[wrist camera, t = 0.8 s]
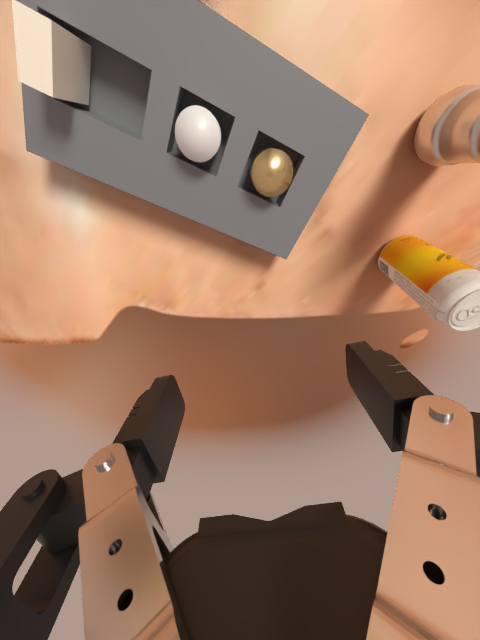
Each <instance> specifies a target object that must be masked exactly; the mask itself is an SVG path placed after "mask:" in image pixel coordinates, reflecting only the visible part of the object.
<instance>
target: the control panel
mask: <svg viewBox="0 0 480 640" xmlns="http://www.w3.org/2000/svg"><path fill="white" fill-rule="evenodd" d="M16 1H18V2H20V3H22V4H23V5H25V6H27V7H29V8H31V9H32V10H34V11H36V12H38V13H40V14H41V15H43V16H45V17H47V18H49V19H50V20H52V21H54V22H55V23H57V24H58V25H60V26H61V27H63V28H64V29H66V30H67V31H69V32H70V33H72V34H74V35H75V36H77V37H78V38H80V39H81V40H83V41H84V42H86V43H87V44H89V45H91V68H90V90H89V105H85V104H80V103H76V102H71V101H67V100H62V99H57V98H53V97H51V96H49V95H47V94H45V93H42V92H40V91H38V90H36V89H34V88H32V87H30V86H28V85H26V84H24V83H22V96H23V109H24V123H25V136H26V149H27V151H29V152H31V153H34V154H36V155H38V156H41V157H43V158H46V159H48V160H50V161H53V162H55V163H57V164H60V165H62V166H65V167H67V168H69V169H72V170H74V171H77V172H79V173H81V174H84V175H86V176H88V177H91V178H93V179H96V180H98V181H100V182H103V183H105V184H108V185H110V186H112V187H115V188H117V189H119V190H122V191H124V192H127V193H129V194H131V195H134V196H136V197H139V198H141V199H143V200H146V201H148V202H150V203H153V204H155V205H158V206H160V207H162V208H165V209H167V210H170V211H172V212H174V213H177V214H179V215H182V216H184V217H186V218H189V219H191V220H193V221H196V222H198V223H201V224H203V225H205V226H208V227H210V228H213V229H215V230H217V231H220V232H222V233H224V234H227V235H229V236H232V237H234V238H236V239H239V240H241V241H244V242H246V243H248V244H251V245H253V246H255V247H258V248H260V249H263V250H265V251H267V252H270V253H272V254H275V255H277V256H279V257H282V258H284V259H287V257H288V256H289V254H290V252H291V250H292V249H293V247H294V245H295V243H296V242H297V240H298V238H299V236H300V235H301V233H302V231H303V229H304V228H305V226H306V224H307V222H308V221H309V219H310V217H311V215H312V214H313V212H314V210H315V208H316V207H317V205H318V203H319V201H320V200H321V198H322V196H323V194H324V193H325V191H326V189H327V187H328V186H329V184H330V182H331V180H332V179H333V177H334V175H335V173H336V172H337V170H338V168H339V166H340V165H341V163H342V161H343V159H344V158H345V156H346V154H347V152H348V151H349V149H350V147H351V145H352V144H353V142H354V140H355V138H356V137H357V135H358V133H359V131H360V130H361V128H362V126H363V124H364V123H365V121H366V119H367V117H368V116H369V114H367V113H366V112H364V111H363V110H361V109H360V108H358V107H357V106H355V105H354V104H352V103H351V102H349V101H348V100H346V99H345V98H343V97H342V96H340V95H339V94H337V93H336V92H334V91H333V90H331V89H330V88H328V87H327V86H325V85H324V84H322V83H321V82H319V81H318V80H316V79H315V78H313V77H312V76H310V75H309V74H307V73H306V72H304V71H303V70H301V69H300V68H298V67H297V66H295V65H294V64H292V63H291V62H289V61H288V60H287V59H285V58H284V57H282V56H281V55H279V54H278V53H276V52H275V51H273V50H272V49H270V48H269V47H267V46H266V45H264V44H263V43H261V42H260V41H258V40H257V39H255V38H254V37H252V36H251V35H249V34H248V33H246V32H245V31H243V30H242V29H240V28H239V27H237V26H236V25H234V24H233V23H231V22H230V21H228V20H227V19H225V18H224V17H222V16H221V15H219V14H218V13H216V12H215V11H213V10H212V9H210V8H209V7H207V6H206V5H204V4H203V3H201V2H200V1H198V0H16ZM194 105H197V106H201V107H204V108H206V109H207V110H209V111H210V112H211V113H212V114H213V116H214V117H215V118H216V120H217V121H218V123H219V126H220V129H221V144H220V147H219V149H218V151H217V153H216V154H215V155H214V156H213V157H212V158H211V159H209V160H208V161H205V162H195V161H192V160H190V159H188V158H187V157H186V156H185V155H184V154H183V153H182V152H181V150H180V149H179V147H178V144H177V142H176V138H175V124H176V120H177V118H178V116H179V114H180V113H181V112H182V111H183V110H184V109H185V108H187V107H189V106H194ZM264 148H275V149H279V150H282V151H283V152H285V153H286V154H287V155H288V156H289V157H290V159H291V161H292V164H293V178H292V181H291V183H290V185H289V187H288V188H287V189H286V190H285V191H284V192H283V193H282V194H280V195H278V196H275V197H267V196H264V195H262V194H261V193H259V192H258V191H257V189H256V188H255V186H254V184H253V182H252V180H251V177H250V165H251V161H252V159H253V157H254V156H255V155H256V154H257V153H258V152H259V151H260V150H262V149H264Z"/></svg>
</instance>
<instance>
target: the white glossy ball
mask: <svg viewBox="0 0 480 640" xmlns="http://www.w3.org/2000/svg"><path fill="white" fill-rule="evenodd" d="M175 138H176V142H177V144H178V147H179V149H180V150H181V152H182V153H183V154H184V155H185V156H186V157H187V158H188V159H190V160H192V161H195V162H205V161H208V160H209V159H211V158H212V157H213V156H214V155H215V154H216V153H217V151H218V149H219V147H220V144H221V129H220V126H219V123H218V121H217V120H216V118H215V117H214V116H213V114H212V113H211V112H210V111H209V110H207V109H206V108H204V107H201V106H197V105H194V106H189V107H187V108H185V109H184V110H183V111H182V112H181V113H180V114H179V116H178V118H177V120H176V124H175Z"/></svg>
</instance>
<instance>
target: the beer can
mask: <svg viewBox="0 0 480 640" xmlns="http://www.w3.org/2000/svg"><path fill="white" fill-rule="evenodd" d="M378 266H379V268H380V270H381V271H382V272H383V273H384V274H385V275H387V276H388V277H389V278H390V279H391V280H392V281H393V282H394V283H396V284H397V285H398V286H399V287H400V288H401V289H402V290H403V291H405V292H406V293H407V294H408V295H409V296H410V297H411V298H412V299H414V300H415V301H416V302H417V303H418V304H419V305H420V306H421V307H423V308H424V309H425V310H426V311H427V312H428V313H429V314H431V315H432V316H433V317H434V318H435V319H436V320H437V321H438V322H439V323H441V324H442V325H444V326H447V327H451V328H453V329H455V330H459V331H466V330H471V329H475V328H478V327H480V271H478V270H477V269H475V268H473V267H471V266H469V265H467V264H465V263H464V262H462V261H460V260H458V259H456V258H454V257H453V256H451V255H449V254H447V253H445V252H443V251H441V250H440V249H438V248H436V247H434V246H432V245H430V244H428V243H427V242H425V241H423V240H421V239H419V238H417V237H415V236H413V235H404V236H400V237H398V238H396V239H394V240H392V241H390V242H389V243H388V244H386V245H385V247H384V248H383V249H382V251H381V253H380V256H379V259H378Z"/></svg>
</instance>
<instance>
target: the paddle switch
mask: <svg viewBox="0 0 480 640" xmlns="http://www.w3.org/2000/svg"><path fill="white" fill-rule="evenodd" d="M12 9H13V21H14V34H15V46H16V59H17V71H18V81H20V82H22V83H24V84H26V85H28V86H30V87H32V88H34V89H36V90H38V91H40V92H42V93H45V94H47V95H49V96H51V97H53V98H57V99H62V100H67V101H71V102H76V103H80V104H85V105H89V90H90V68H91V45H89V44H87V43H86V42H84V41H83V40H81V39H80V38H78V37H77V36H75V35H74V34H72V33H70V32H69V31H67V30H66V29H64V28H63V27H61V26H60V25H58V24H57V23H55V22H54V21H52V20H50V19H49V18H47V17H45V16H43V15H41V14H40V13H38V12H36V11H34V10H32V9H31V8H29V7H27V6H25V5H23V4H22V3H20V2H18V1H16V0H12Z"/></svg>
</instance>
